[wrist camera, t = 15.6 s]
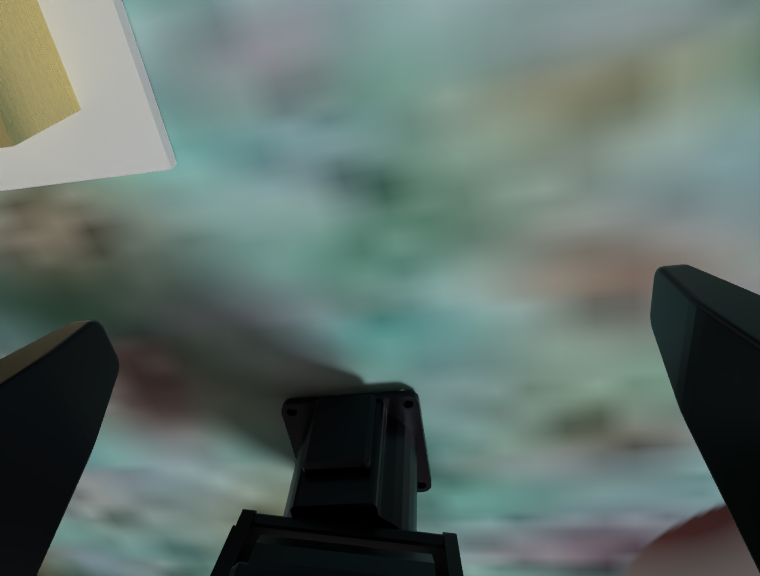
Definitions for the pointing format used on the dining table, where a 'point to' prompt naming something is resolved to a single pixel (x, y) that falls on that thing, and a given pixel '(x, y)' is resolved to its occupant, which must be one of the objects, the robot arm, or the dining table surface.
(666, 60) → the dining table surface
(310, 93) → the dining table surface
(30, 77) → the olive wooden block
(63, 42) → the mat
